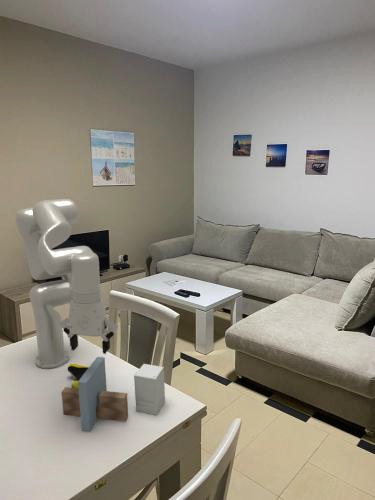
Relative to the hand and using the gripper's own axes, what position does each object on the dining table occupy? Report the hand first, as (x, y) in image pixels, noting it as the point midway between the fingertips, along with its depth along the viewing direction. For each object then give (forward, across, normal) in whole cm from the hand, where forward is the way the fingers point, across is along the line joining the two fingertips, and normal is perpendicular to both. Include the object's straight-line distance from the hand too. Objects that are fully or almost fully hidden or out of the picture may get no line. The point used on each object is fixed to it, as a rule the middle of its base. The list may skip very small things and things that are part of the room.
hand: (90, 349), depth 112 cm
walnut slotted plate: (+22, +1, -1) cm, 22 cm away
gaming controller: (+23, -10, +15) cm, 29 cm away
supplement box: (+22, +16, +6) cm, 28 cm away
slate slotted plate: (+22, +1, -1) cm, 22 cm away
